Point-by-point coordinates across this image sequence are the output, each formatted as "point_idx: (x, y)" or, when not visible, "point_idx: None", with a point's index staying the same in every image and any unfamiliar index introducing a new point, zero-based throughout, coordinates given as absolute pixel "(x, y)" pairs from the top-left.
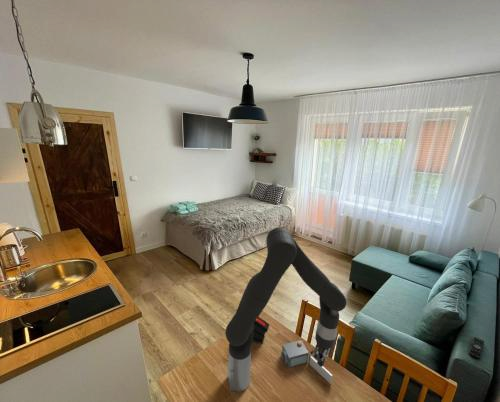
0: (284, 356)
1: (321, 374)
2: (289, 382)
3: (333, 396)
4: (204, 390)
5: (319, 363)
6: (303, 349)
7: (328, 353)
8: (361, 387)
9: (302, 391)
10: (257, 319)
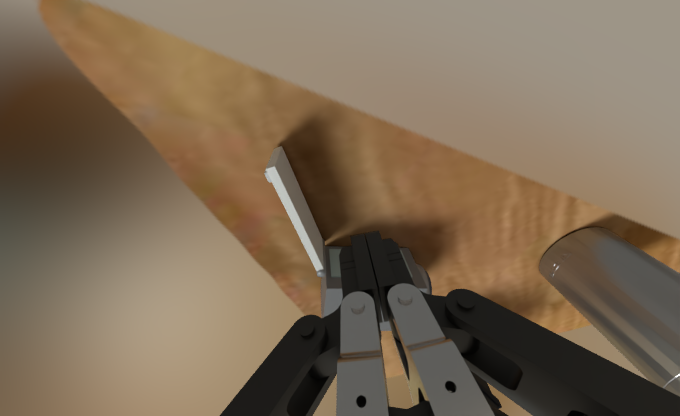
0: (430, 292)
1: (300, 192)
2: (441, 205)
3: (301, 92)
4: (667, 255)
5: (402, 260)
6: (340, 302)
7: (343, 376)
8: (105, 69)
9: (421, 162)
10: None
